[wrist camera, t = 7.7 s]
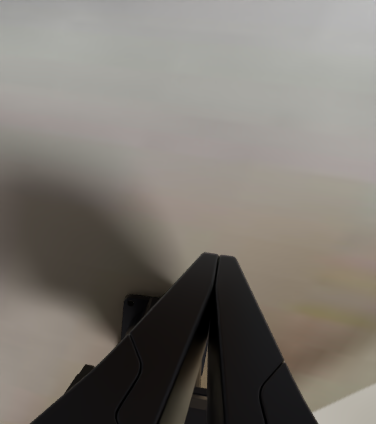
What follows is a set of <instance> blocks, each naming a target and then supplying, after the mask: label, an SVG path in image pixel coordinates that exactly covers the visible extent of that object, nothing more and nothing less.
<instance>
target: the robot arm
mask: <svg viewBox="0 0 376 424" xmlns="http://www.w3.org/2000/svg"><path fill="white" fill-rule="evenodd" d="M129 300H132V301H133V302H134V303H131V302H129ZM207 347H208V371H207V389H205V388H200V385H201V376H202V373H203V368H204V363H205V357H206V352H207ZM94 367H95V366H92V365H87V364H85V366H84V367H83V369H82V370H81V372H80V373H79V374H77V376H76V377H75V379H74V380H73V382H72V383H71V385H70V386H69V388H68V389H67V390H66V392H65V393H64V395H63V396H61V397H60V398H59V399H58V400H57V401H56V402H55V403H53V404H52V405H51V406H50V407H49V408H48V409H46V410H45V411H44V412H43V413H42V414H41V415H39V416H38V417H37V418H36V419H35V420H34V421H32V422H31V423H30V424H318V422H317V421H316V419H315V417H314V416H313V414H312V412H311V411H310V409H309V407H308V405H307V404H306V402H305V400H304V398H303V396H302V394H301V392H300V390H299V389H298V387H297V385H296V383H295V381H294V379H293V377H292V375H291V372H290V370H289V368H288V366H287V364H286V363H284V358H283V356H282V354H281V352H280V350H279V348H278V345H277V343H276V341H275V339H274V337H273V335H272V333H271V331H270V329H269V327H268V324H267V322H266V320H265V318H264V316H263V314H262V312H261V310H260V308H259V305H258V303H257V301H256V299H255V297H254V295H253V293H252V291H251V289H250V287H249V284H248V282H247V280H246V278H245V276H244V274H243V272H242V270H241V268H240V265H239V263H238V261H237V259H236V258H235V257H233V256H227V255H220V256H218V254H214V253H207V252H204V253H202V254H201V255H200V256H199V258H198V259H197V260H196V261H195V262H194V263H193V264H192V265H191V266H190V267H189V268H188V269H187V270H186V272H185V273H184V274H183V275H182V276H181V277H180V278H179V279H178V280H177V281H176V282H175V283H174V285H173V286H172V287H171V288H170V289H169V290H168V291H167V292H166V293H165V294H164V295H163V296H162V298H157V297H147V296H141V295H134V294H129V295H127V296H126V298H125V300H124V307H123V321H122V334H121V342H120V343H119V344H118V345H117V346H116V347H115V348H114V349H113V350H112V351H111V352H110V353H109V354H108V355H107V356H106V357H105V358H104V359H103V360H102V361H101V362H100V363H99V364H98V365H97V366H96V367H95V368H94Z"/></svg>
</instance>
